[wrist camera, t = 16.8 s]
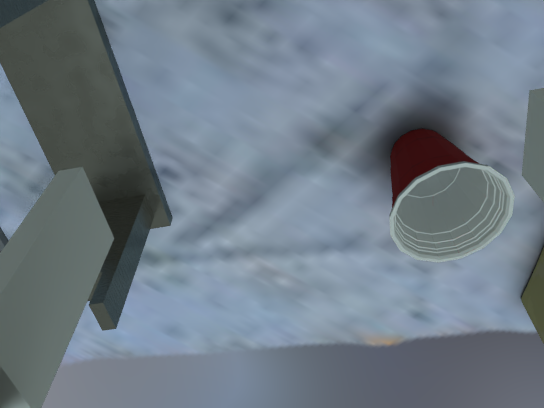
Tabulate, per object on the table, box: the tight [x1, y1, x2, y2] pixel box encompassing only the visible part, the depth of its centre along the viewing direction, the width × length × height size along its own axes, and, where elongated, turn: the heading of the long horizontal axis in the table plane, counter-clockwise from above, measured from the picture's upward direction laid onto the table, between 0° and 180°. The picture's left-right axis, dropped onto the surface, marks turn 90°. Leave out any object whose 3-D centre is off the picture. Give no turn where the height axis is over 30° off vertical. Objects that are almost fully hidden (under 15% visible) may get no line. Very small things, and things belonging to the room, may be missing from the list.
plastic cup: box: [390, 129, 514, 262], centre depth 49 cm, size 11×11×12 cm
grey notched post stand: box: [0, 0, 172, 330], centre depth 43 cm, size 30×10×18 cm, turn 11°
